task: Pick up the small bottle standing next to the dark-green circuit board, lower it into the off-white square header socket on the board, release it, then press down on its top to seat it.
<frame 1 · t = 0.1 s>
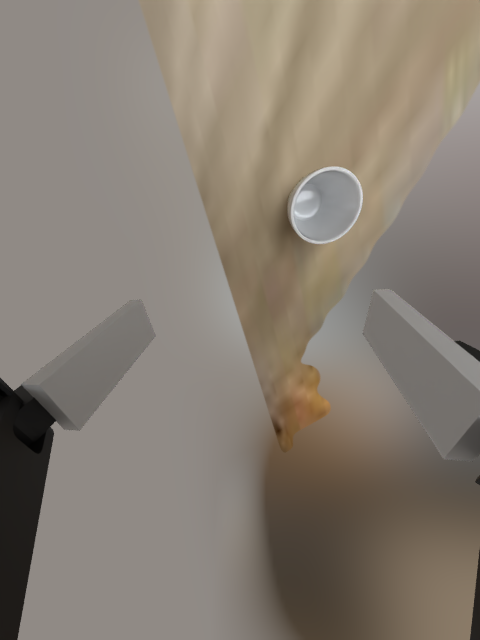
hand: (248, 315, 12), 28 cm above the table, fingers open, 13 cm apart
drinking glass: (304, 202, 32), on the table
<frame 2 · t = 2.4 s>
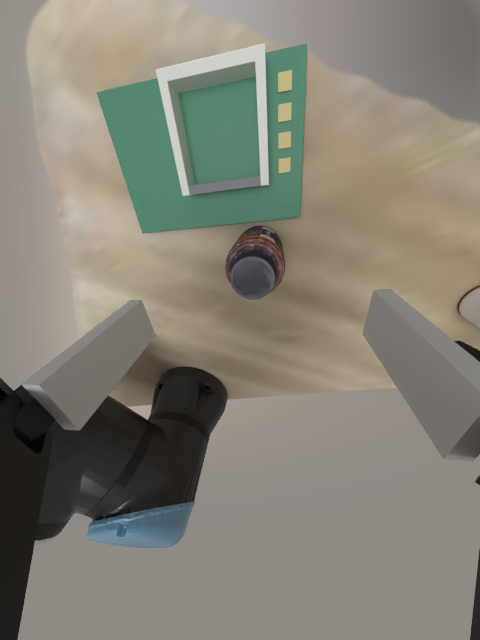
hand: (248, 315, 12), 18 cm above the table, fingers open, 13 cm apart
supplement bottle: (259, 248, 27), on the table
drinking glass: (479, 300, 27), on the table
board: (209, 161, 23), on the table
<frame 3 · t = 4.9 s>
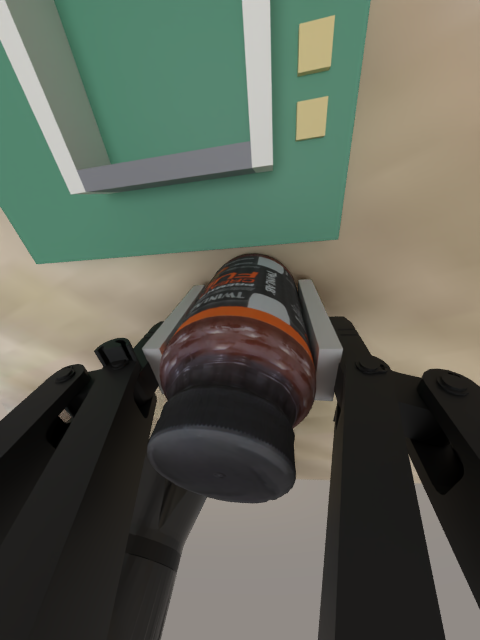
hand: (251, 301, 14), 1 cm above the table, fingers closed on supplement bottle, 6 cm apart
supplement bottle: (253, 292, 15), on the table, touching gripper
board: (141, 117, 10), on the table
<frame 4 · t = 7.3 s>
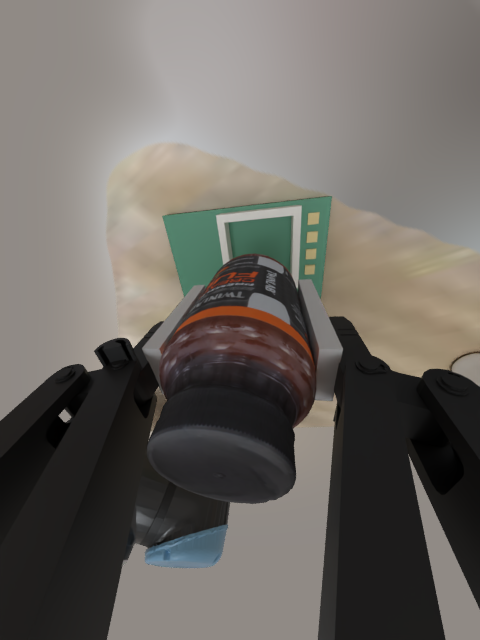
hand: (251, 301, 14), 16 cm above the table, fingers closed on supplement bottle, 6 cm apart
supplement bottle: (253, 291, 15), point 15 cm above the table, touching gripper
drinking glass: (468, 363, 33), on the table
board: (247, 259, 28), on the table
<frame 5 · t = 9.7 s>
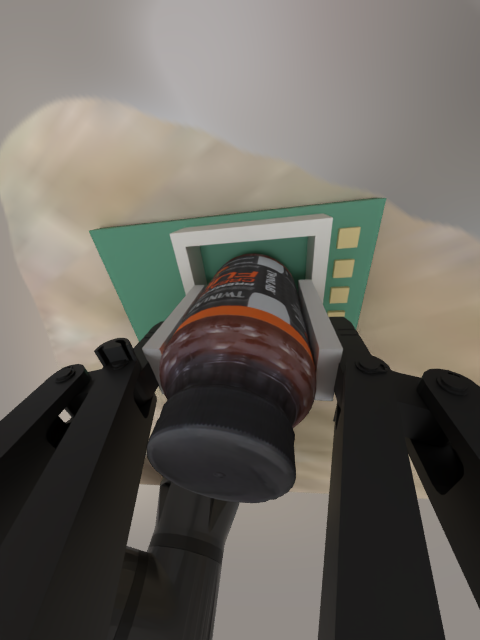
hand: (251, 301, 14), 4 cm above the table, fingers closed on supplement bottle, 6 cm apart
supplement bottle: (253, 291, 15), point 2 cm above the table, touching gripper
board: (233, 297, 18), on the table
when the fingers open (4 cm above the table, at t = 11.0 s): supplement bottle stays where it is, resting on board.
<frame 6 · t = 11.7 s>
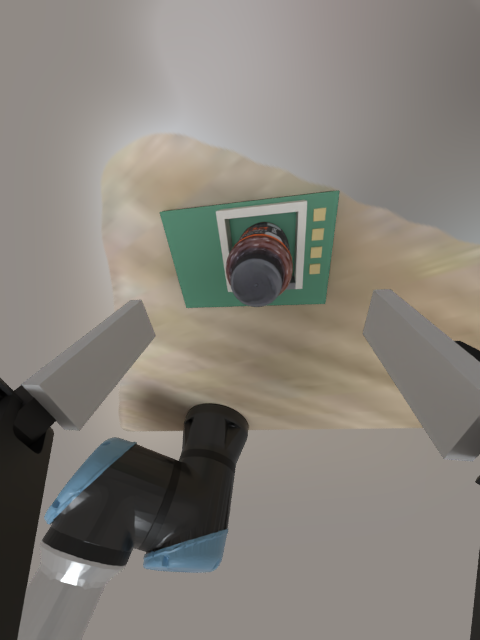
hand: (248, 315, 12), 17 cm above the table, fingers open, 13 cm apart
supplement bottle: (263, 247, 25), point 1 cm above the table, touching board
board: (248, 258, 27), on the table
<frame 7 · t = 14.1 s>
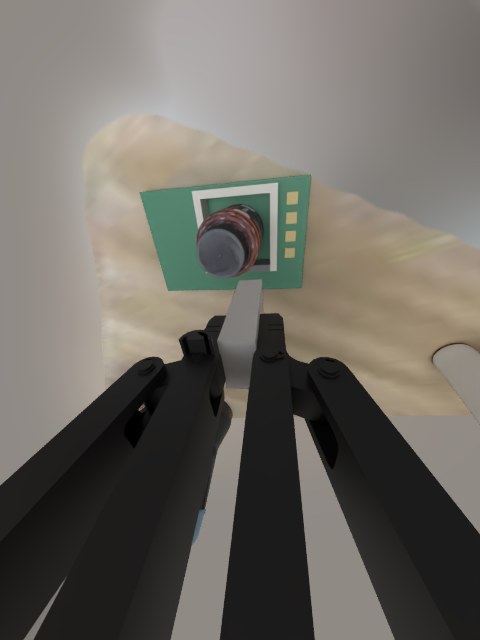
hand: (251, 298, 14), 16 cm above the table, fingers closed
supplement bottle: (240, 230, 26), point 1 cm above the table, touching board
drinking glass: (449, 354, 33), on the table
board: (227, 241, 28), on the table
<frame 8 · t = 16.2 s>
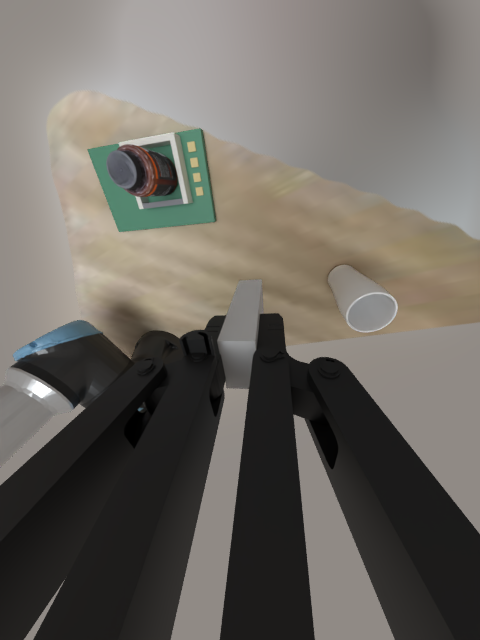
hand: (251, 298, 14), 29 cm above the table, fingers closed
supplement bottle: (162, 175, 35), point 1 cm above the table, touching board
drinking glass: (340, 276, 42), on the table
board: (157, 187, 37), on the table
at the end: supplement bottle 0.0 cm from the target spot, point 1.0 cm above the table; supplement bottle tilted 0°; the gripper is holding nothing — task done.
